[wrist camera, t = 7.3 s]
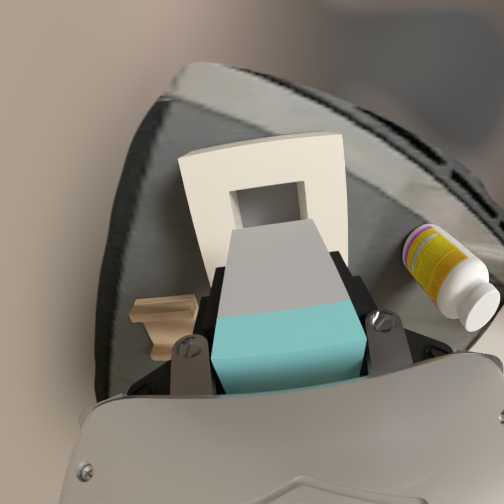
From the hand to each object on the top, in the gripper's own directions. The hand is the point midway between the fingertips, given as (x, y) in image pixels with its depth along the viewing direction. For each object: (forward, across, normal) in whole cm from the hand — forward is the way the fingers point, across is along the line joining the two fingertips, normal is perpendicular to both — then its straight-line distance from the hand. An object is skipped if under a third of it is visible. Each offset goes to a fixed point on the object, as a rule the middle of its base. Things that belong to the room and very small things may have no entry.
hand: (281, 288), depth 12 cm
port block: (+15, 0, +1) cm, 15 cm away
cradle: (+15, +14, +15) cm, 25 cm away
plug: (+2, 0, 0) cm, 2 cm away
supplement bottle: (+15, -18, +9) cm, 25 cm away
